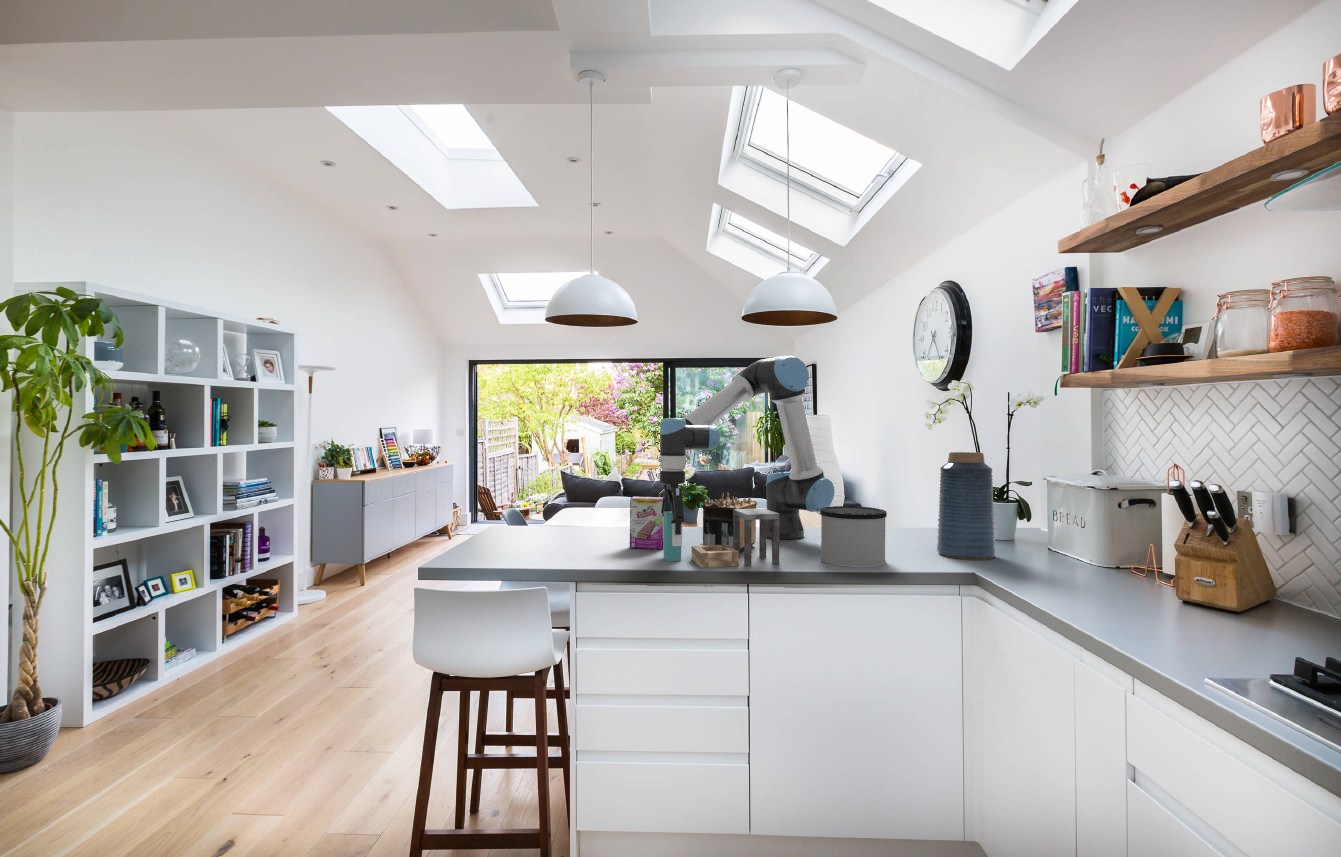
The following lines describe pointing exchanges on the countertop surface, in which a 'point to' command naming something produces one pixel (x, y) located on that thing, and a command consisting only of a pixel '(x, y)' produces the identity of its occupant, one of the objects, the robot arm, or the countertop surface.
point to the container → (853, 536)
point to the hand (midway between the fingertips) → (671, 541)
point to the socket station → (729, 555)
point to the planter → (725, 521)
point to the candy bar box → (646, 523)
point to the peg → (670, 540)
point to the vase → (966, 508)
